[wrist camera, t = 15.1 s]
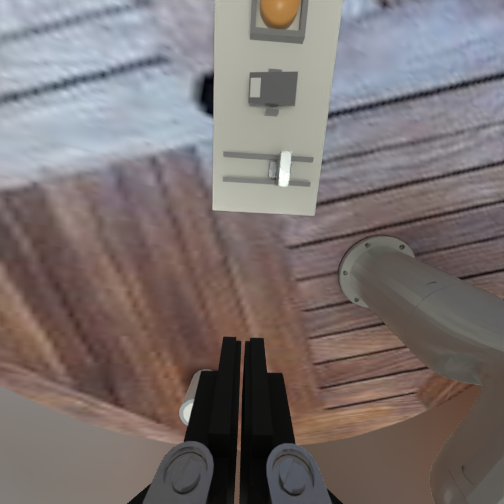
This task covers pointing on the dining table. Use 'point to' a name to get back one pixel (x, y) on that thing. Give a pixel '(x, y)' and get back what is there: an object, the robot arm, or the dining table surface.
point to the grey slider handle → (281, 169)
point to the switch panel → (271, 118)
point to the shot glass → (190, 398)
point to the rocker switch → (272, 88)
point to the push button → (279, 13)
